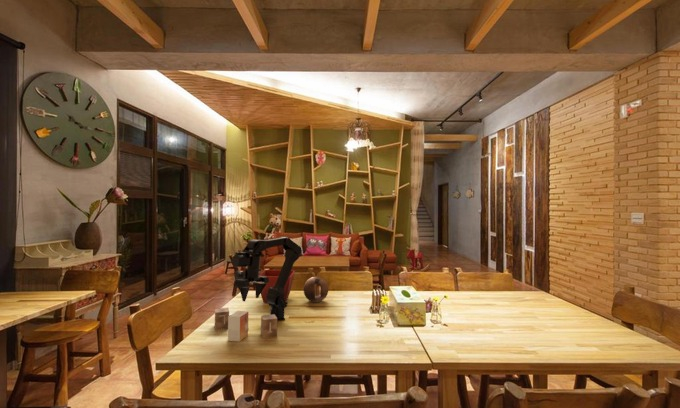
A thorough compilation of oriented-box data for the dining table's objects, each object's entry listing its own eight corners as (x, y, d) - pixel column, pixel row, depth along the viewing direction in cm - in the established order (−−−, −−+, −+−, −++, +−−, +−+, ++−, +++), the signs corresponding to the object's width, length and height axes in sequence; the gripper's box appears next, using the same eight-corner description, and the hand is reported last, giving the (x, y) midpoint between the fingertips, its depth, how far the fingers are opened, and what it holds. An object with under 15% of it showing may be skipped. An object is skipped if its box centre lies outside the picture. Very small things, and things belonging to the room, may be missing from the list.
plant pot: (289, 305, 192) (289, 276, 192) (256, 304, 192) (257, 275, 193) (294, 296, 211) (294, 270, 212) (264, 296, 212) (264, 269, 212)
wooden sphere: (306, 297, 209) (307, 274, 210) (330, 299, 207) (330, 275, 208) (300, 304, 195) (301, 278, 195) (325, 306, 192) (326, 280, 193)
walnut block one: (274, 331, 151) (274, 314, 152) (276, 336, 146) (277, 318, 146) (260, 333, 149) (261, 315, 149) (263, 338, 143) (263, 320, 144)
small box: (239, 342, 139) (240, 317, 139) (227, 340, 140) (227, 315, 140) (248, 335, 147) (249, 311, 147) (236, 334, 148) (237, 310, 148)
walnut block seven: (227, 324, 160) (228, 307, 160) (228, 328, 154) (229, 311, 154) (214, 325, 158) (215, 308, 158) (215, 330, 152) (215, 312, 152)
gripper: (252, 263, 169) (250, 294, 168) (226, 265, 153) (223, 300, 151) (270, 265, 165) (267, 297, 164) (245, 268, 148) (242, 304, 147)
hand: (250, 299), depth 156 cm, fingers open, 9 cm apart
